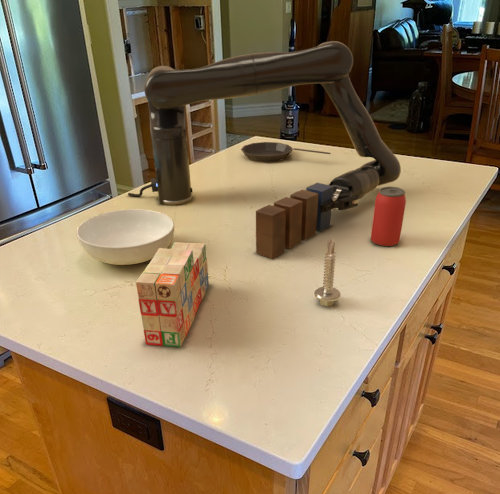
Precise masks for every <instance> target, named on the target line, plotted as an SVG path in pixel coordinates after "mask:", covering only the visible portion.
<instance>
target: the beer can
mask: <svg viewBox="0 0 500 494" xmlns="http://www.w3.org/2000/svg"><path fill="white" fill-rule="evenodd" d="M406 204H407V198H406V191H405V190H404V189H403V188H401V187H397V186H384V187H381V188H379V190H378V193H377V195H376V197H375V202H374V209H373V217H372V223H371V224H372V225H371V232H370V240H371V242H372V243H374V244H375V245H377V246H380V247H392V246H396V245H398V244H399V243H400V242H401V235H402V229H403V224H404V223H403V222H404V216H405V209H406Z"/></svg>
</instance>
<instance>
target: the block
mask: <svg viewBox="0 0 500 494" xmlns="http://www.w3.org/2000/svg"><path fill="white" fill-rule="evenodd" d="M305 190H306V191H310V192H314V193H318V208H317V225H316V232H319V233H320V232H322V231H324V230H326V229H328V228H329V227H331V223H332V211H333V210H332V209H331V210H329V211H327V212H325V213H321V212H320V205H321V204H322V203H324V202H326V201H328V200H331V199H332V196H333V186H330V185H329V184H326V183H321V182H315V183H313V184H311V185H309V186H307V187H306V189H305Z"/></svg>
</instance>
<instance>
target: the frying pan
mask: <svg viewBox="0 0 500 494" xmlns="http://www.w3.org/2000/svg"><path fill="white" fill-rule="evenodd" d="M240 150H241V152H242V153H243V155H244V156H245V158H247V159H248V160H249V161H252V162H257V163H275V162H276V163H277V162H279V161H284V160H286V159H288V157H289V156H290V155H291V153H292V152H293V151H301V152H306V153H307V152H308V153H316V154H324V155H331V154H332V153H331V152H328V151H320V150H313V149H304V148H295V147H294V148H293V147H292V146H291V145H289V144H287V143H282V142H277V141H275V142H274V141H260V142H252V143H249V144H245V145H243V146H242V147H241V149H240Z"/></svg>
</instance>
